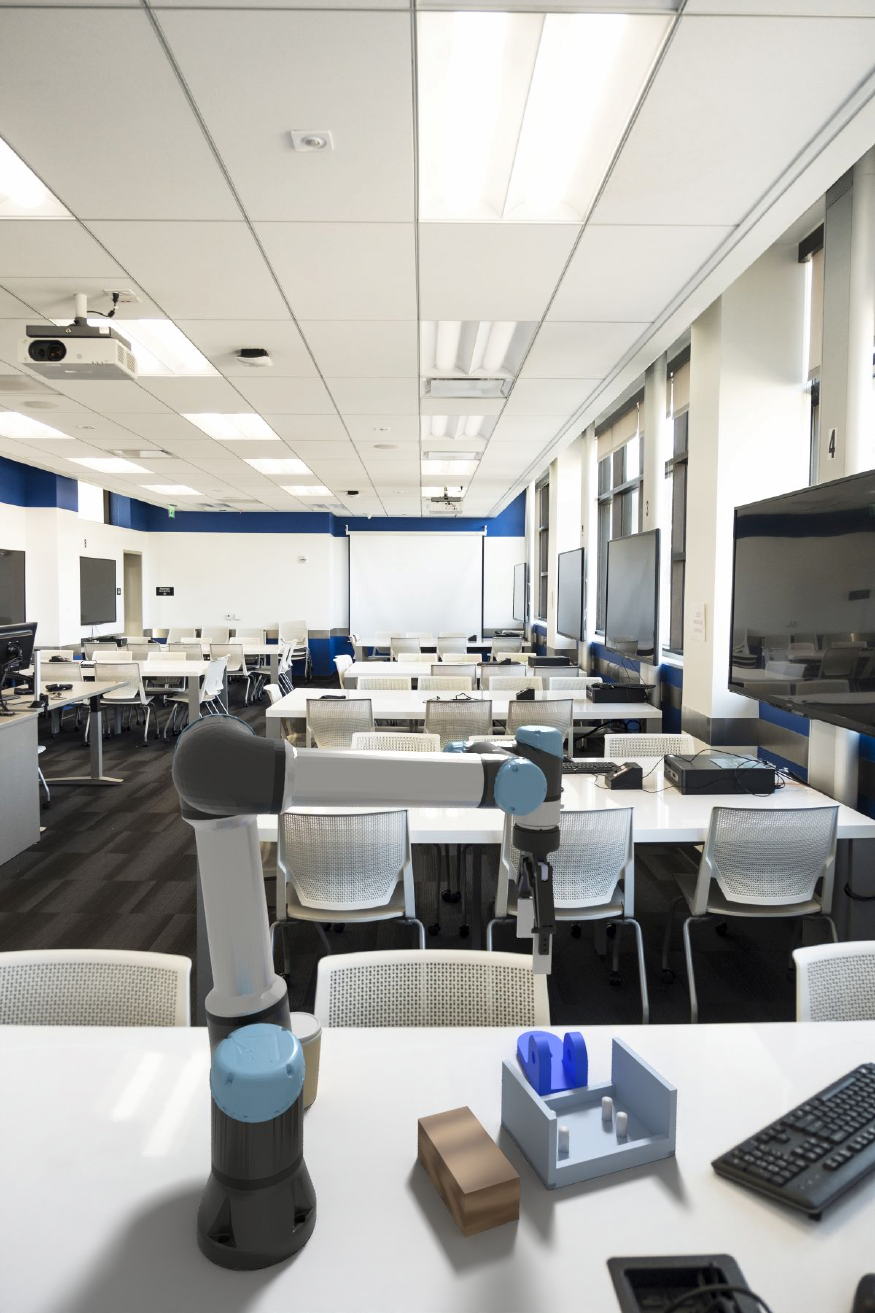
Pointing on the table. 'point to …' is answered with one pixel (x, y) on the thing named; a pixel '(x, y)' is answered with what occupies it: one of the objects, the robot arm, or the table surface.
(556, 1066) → the bracket
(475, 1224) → the brown wooden block
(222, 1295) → the table surface
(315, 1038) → the coffee cup
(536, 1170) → the frame
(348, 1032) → the table surface
